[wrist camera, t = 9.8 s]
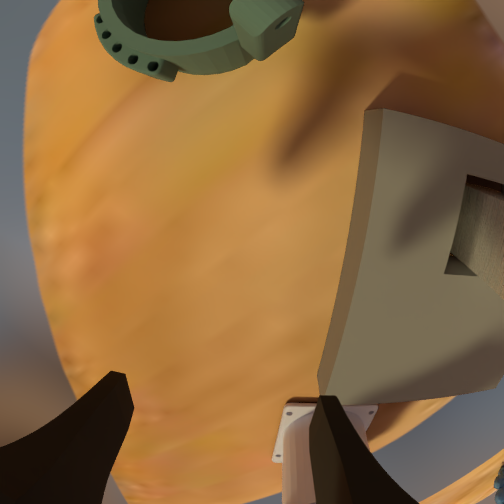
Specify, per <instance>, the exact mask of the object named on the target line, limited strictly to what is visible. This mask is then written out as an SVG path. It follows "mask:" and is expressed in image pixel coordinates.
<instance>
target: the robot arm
mask: <svg viewBox="0 0 504 504" xmlns="http://www.w3.org/2000/svg"><path fill="white" fill-rule="evenodd" d="M377 410H378V404H359V405H341V403H340V401H339V399H338V397H337V396H336V395H319V398H318V402H317V403H287V404H286V405H285V406H284V409H283V413H282V418H281V422H280V426H279V430H278V435H277V439H276V443H275V447H274V451H273V455H272V461H273V462H276V463H282V504H419V503H418V502H417V501H416V500H414V499H413V498H412V497H411V496H410V495H409V494H408V493H406V492H405V491H404V490H403V489H402V488H401V487H400V486H399V485H398V484H397V483H396V482H395V481H394V480H393V479H392V478H391V477H390V476H389V475H388V474H387V472H386V471H385V470H384V469H383V468H382V467H381V465H380V464H379V463H378V461H377V460H376V459H375V458H374V456H373V455H372V453H371V452H370V449H369V445H368V440H367V436H366V431H367V429H368V427H369V425H370V423H371V422H372V420H373V418H374V416H375V414H376V412H377ZM133 411H134V405H133V401H132V398H131V394H130V390H129V386H128V382H127V378H126V374H124V373H119V372H115V371H110V372H109V373H108V374H107V375H106V376H105V377H103V378H102V379H101V380H100V381H99V382H98V383H97V384H96V385H95V386H93V387H92V388H91V389H90V390H89V391H88V392H87V393H86V394H84V395H83V396H82V397H81V398H80V399H79V400H77V401H76V402H75V403H74V404H73V405H72V406H71V407H69V408H68V409H66V410H65V411H64V412H63V413H62V414H60V415H59V416H57V417H56V418H55V419H53V420H52V421H50V422H49V423H47V424H46V425H44V426H43V427H41V428H40V429H38V430H36V431H34V432H33V433H31V434H29V435H27V436H25V437H23V438H21V439H19V440H17V441H15V442H13V443H10V444H8V445H6V446H3V447H0V504H101V503H102V499H103V495H104V491H105V487H106V483H107V480H108V477H109V474H110V471H111V469H112V467H113V464H114V462H115V460H116V457H117V455H118V453H119V450H120V448H121V446H122V443H123V441H124V438H125V436H126V434H127V431H128V429H129V425H130V422H131V418H132V414H133Z"/></svg>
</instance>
